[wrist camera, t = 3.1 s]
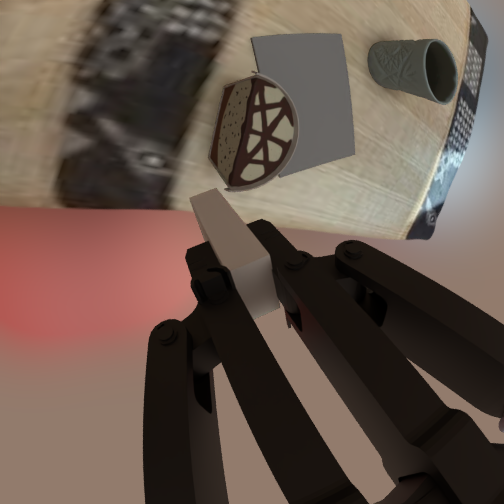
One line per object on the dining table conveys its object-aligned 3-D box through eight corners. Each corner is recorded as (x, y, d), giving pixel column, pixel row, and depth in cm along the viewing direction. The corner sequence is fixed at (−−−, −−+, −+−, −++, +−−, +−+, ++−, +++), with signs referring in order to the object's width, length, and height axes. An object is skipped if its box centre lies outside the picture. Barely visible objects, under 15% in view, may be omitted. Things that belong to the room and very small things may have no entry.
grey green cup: (404, 89, 36) (459, 102, 27) (368, 95, 35) (429, 108, 26) (396, 38, 30) (453, 42, 21) (357, 37, 29) (420, 36, 19)
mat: (278, 176, 37) (280, 177, 37) (250, 38, 25) (251, 37, 25) (353, 153, 40) (355, 154, 40) (339, 34, 28) (341, 34, 27)
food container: (250, 174, 36) (286, 201, 28) (205, 169, 33) (230, 196, 25) (271, 86, 30) (317, 88, 22) (226, 75, 27) (260, 69, 20)
